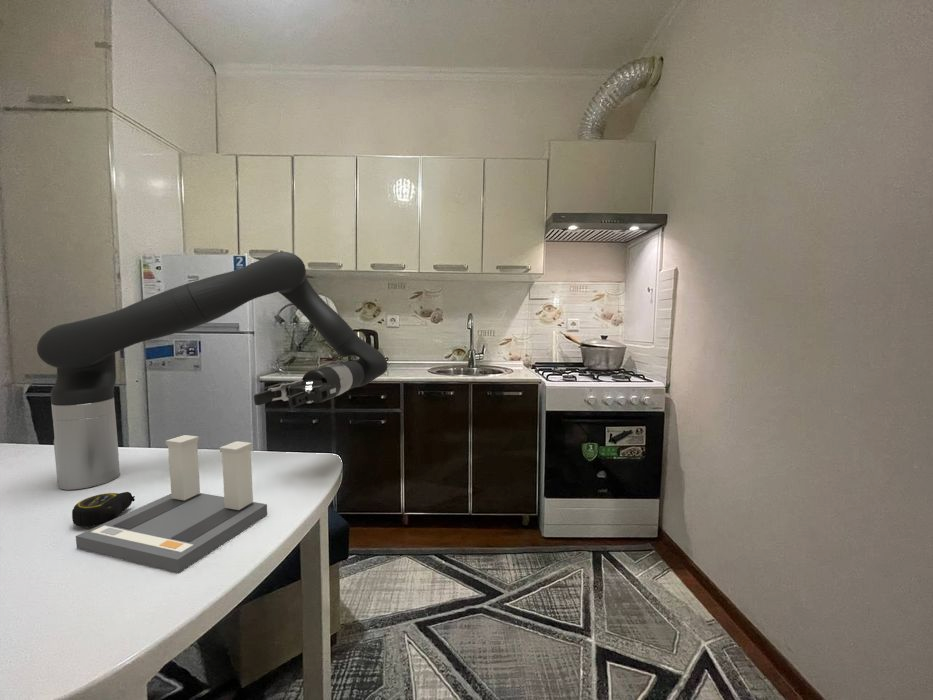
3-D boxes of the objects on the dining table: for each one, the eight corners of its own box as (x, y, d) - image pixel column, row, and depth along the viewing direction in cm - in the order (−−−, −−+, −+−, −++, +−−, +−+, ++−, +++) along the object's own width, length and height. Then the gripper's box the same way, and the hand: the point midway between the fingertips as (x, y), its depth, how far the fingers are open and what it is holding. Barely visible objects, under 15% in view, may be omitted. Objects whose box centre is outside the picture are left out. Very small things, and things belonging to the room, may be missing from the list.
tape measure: (114, 528, 64) (113, 506, 63) (62, 535, 62) (60, 512, 61) (135, 508, 70) (134, 488, 70) (89, 513, 68) (87, 493, 68)
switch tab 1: (169, 498, 69) (165, 440, 68) (187, 490, 72) (184, 434, 71) (184, 501, 68) (180, 442, 67) (201, 492, 71) (198, 436, 70)
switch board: (76, 548, 58) (75, 534, 58) (180, 499, 73) (180, 488, 73) (178, 573, 53) (177, 558, 52) (267, 514, 68) (266, 503, 68)
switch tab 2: (222, 508, 66) (219, 447, 65) (239, 498, 69) (236, 441, 68) (238, 510, 65) (235, 449, 64) (254, 501, 68) (252, 443, 67)
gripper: (301, 365, 90) (241, 381, 75) (353, 366, 86) (300, 383, 71) (305, 396, 91) (246, 418, 76) (355, 399, 87) (304, 422, 72)
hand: (272, 401), depth 73 cm, fingers open, 8 cm apart
